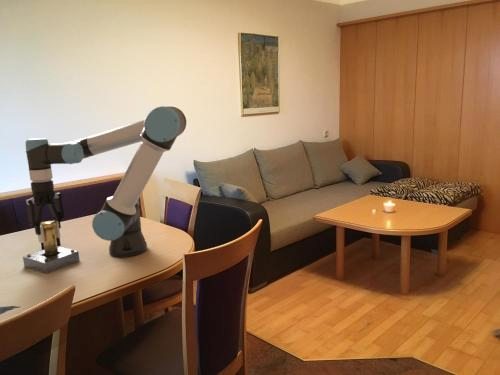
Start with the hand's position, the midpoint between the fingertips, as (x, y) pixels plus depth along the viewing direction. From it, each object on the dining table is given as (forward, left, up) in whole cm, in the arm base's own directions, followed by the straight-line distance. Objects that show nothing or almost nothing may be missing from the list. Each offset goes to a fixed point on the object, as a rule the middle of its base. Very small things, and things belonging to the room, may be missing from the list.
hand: (49, 239), depth 162 cm
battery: (+17, -11, -10) cm, 23 cm away
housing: (0, 0, -10) cm, 10 cm away
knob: (0, 0, -5) cm, 5 cm away
